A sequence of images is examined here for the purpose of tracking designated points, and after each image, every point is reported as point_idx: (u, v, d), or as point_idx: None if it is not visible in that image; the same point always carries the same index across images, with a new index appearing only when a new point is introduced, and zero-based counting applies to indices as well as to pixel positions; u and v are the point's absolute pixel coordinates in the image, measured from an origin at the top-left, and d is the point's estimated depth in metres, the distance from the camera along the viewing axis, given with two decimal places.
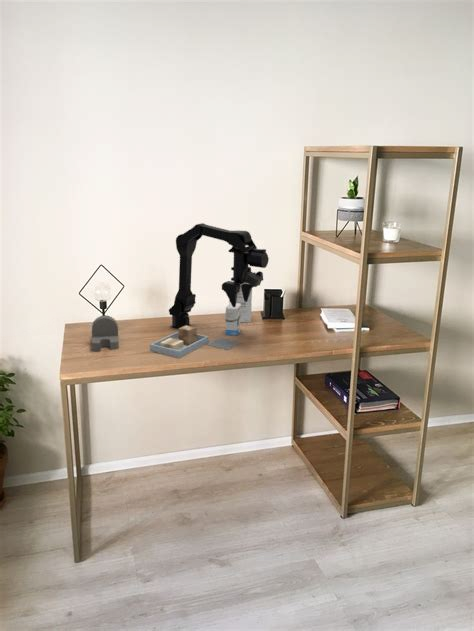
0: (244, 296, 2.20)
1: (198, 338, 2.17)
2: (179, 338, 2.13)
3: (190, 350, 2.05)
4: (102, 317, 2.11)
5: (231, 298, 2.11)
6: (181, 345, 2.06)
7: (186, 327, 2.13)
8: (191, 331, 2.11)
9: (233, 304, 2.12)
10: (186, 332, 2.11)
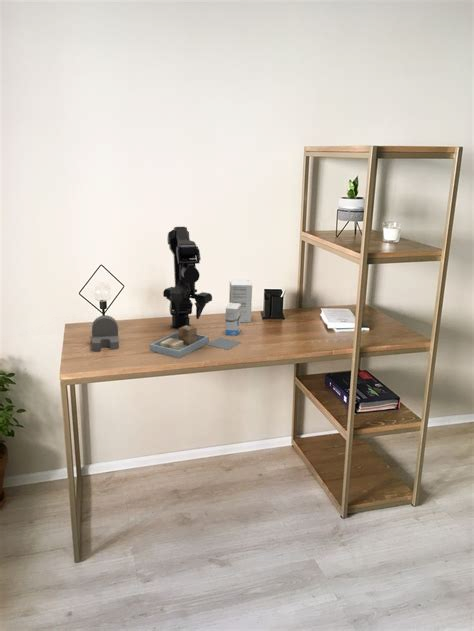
0: None
1: (198, 338, 2.17)
2: (179, 338, 2.13)
3: (190, 350, 2.05)
4: (102, 317, 2.11)
5: None
6: (181, 345, 2.06)
7: (186, 327, 2.13)
8: (191, 331, 2.11)
9: None
10: (186, 332, 2.11)
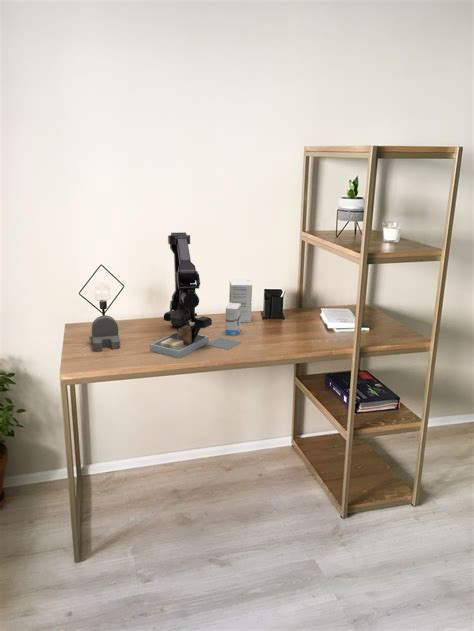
0: None
1: (198, 338, 2.17)
2: (179, 338, 2.13)
3: (190, 350, 2.05)
4: (102, 317, 2.11)
5: None
6: (181, 345, 2.06)
7: (186, 327, 2.13)
8: (191, 331, 2.11)
9: None
10: (186, 332, 2.11)
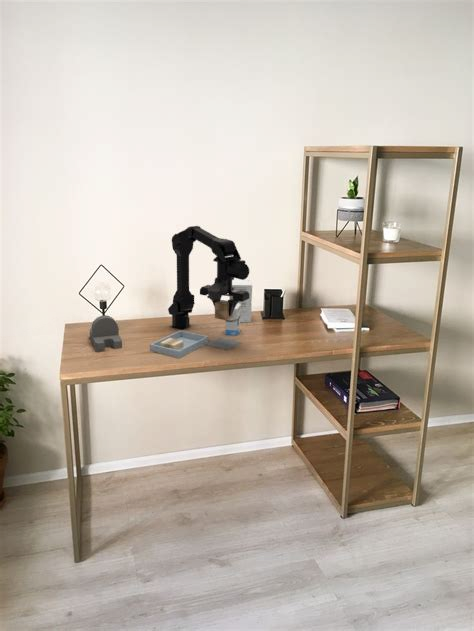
0: None
1: (198, 338, 2.17)
2: (216, 313, 2.10)
3: (190, 350, 2.05)
4: (102, 317, 2.11)
5: None
6: (181, 345, 2.06)
7: (223, 301, 2.10)
8: (228, 305, 2.08)
9: None
10: (223, 306, 2.08)
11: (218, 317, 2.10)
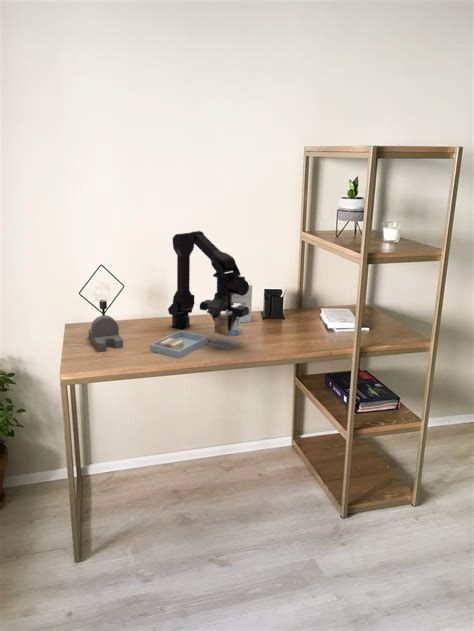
0: None
1: (198, 338, 2.17)
2: (215, 327, 2.12)
3: (190, 350, 2.05)
4: (102, 317, 2.11)
5: None
6: (181, 345, 2.06)
7: (222, 316, 2.12)
8: (228, 320, 2.10)
9: None
10: (223, 321, 2.09)
11: (218, 331, 2.12)
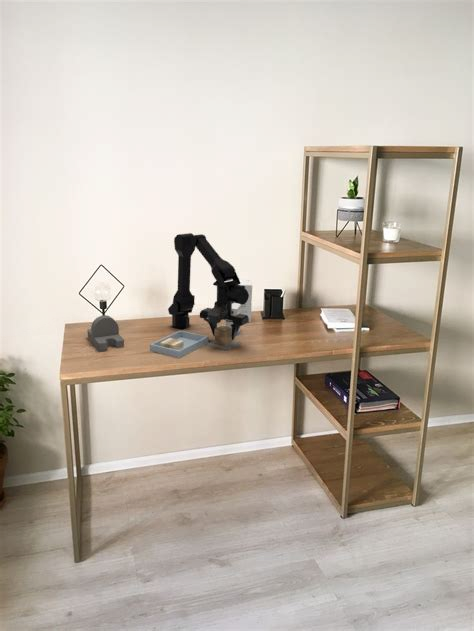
0: None
1: (198, 338, 2.17)
2: (215, 338, 2.13)
3: (190, 350, 2.05)
4: (102, 317, 2.11)
5: None
6: (181, 345, 2.06)
7: (222, 327, 2.14)
8: (227, 331, 2.11)
9: None
10: (223, 332, 2.11)
11: (218, 342, 2.13)
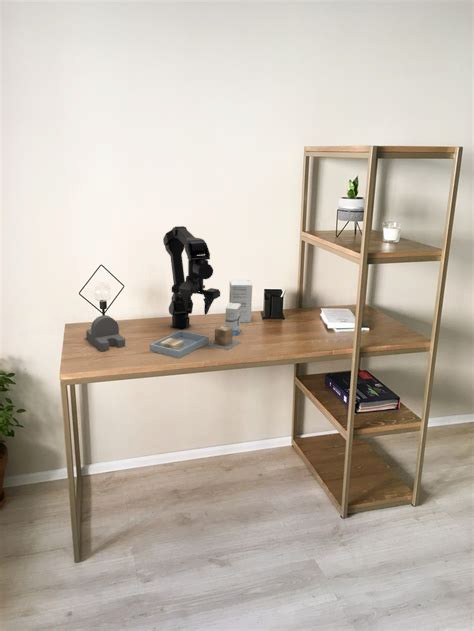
0: None
1: (198, 338, 2.17)
2: (215, 338, 2.13)
3: (190, 350, 2.05)
4: (103, 317, 2.11)
5: None
6: (181, 345, 2.06)
7: (222, 327, 2.14)
8: (227, 331, 2.11)
9: None
10: (223, 332, 2.11)
11: (218, 342, 2.13)
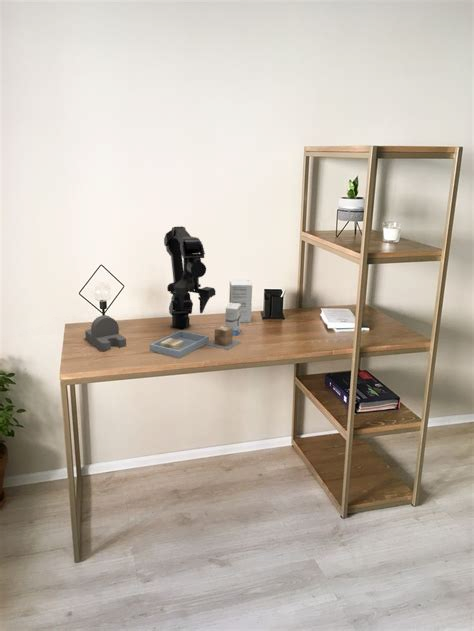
0: None
1: (198, 338, 2.17)
2: (215, 338, 2.13)
3: (190, 350, 2.05)
4: (103, 317, 2.11)
5: None
6: (181, 345, 2.06)
7: (222, 327, 2.14)
8: (227, 331, 2.11)
9: None
10: (223, 332, 2.11)
11: (218, 342, 2.13)
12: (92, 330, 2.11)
